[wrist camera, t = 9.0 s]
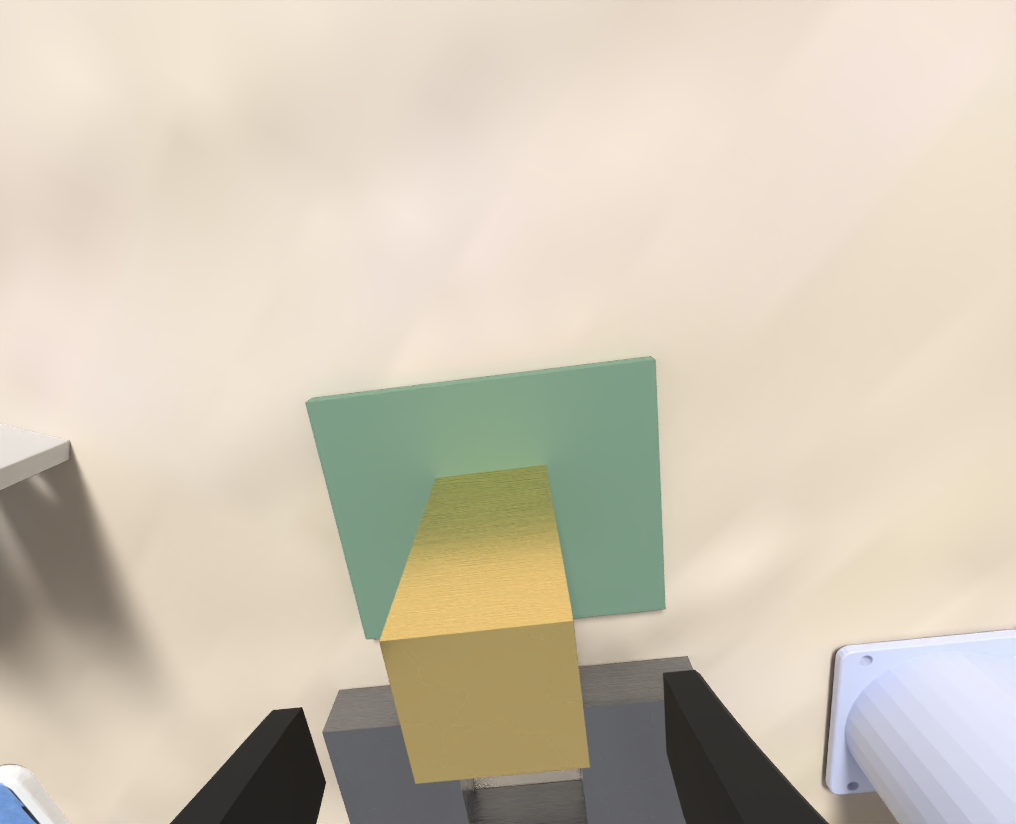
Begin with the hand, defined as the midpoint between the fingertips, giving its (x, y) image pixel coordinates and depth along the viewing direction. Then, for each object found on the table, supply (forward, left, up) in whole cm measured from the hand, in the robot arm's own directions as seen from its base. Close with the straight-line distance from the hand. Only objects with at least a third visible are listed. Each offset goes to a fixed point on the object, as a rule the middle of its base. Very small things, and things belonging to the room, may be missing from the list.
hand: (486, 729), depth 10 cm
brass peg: (0, 0, -9) cm, 9 cm away
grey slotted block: (+1, +12, -9) cm, 15 cm away
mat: (0, 0, -9) cm, 9 cm away
